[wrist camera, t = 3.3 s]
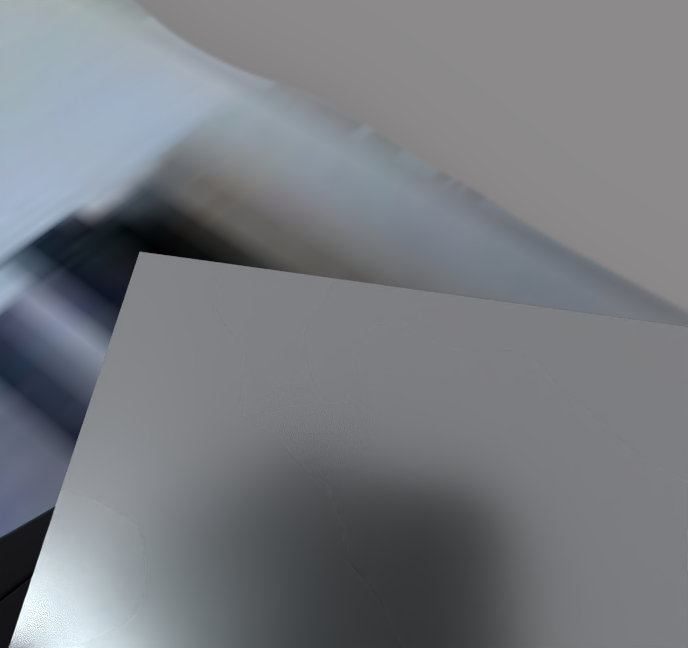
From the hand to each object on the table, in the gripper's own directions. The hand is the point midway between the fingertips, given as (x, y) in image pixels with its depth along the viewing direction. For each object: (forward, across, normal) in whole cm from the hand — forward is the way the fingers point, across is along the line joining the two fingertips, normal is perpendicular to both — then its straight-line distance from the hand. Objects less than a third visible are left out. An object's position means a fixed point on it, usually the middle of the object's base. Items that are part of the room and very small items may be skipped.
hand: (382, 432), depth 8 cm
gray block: (+4, 0, +6) cm, 7 cm away
